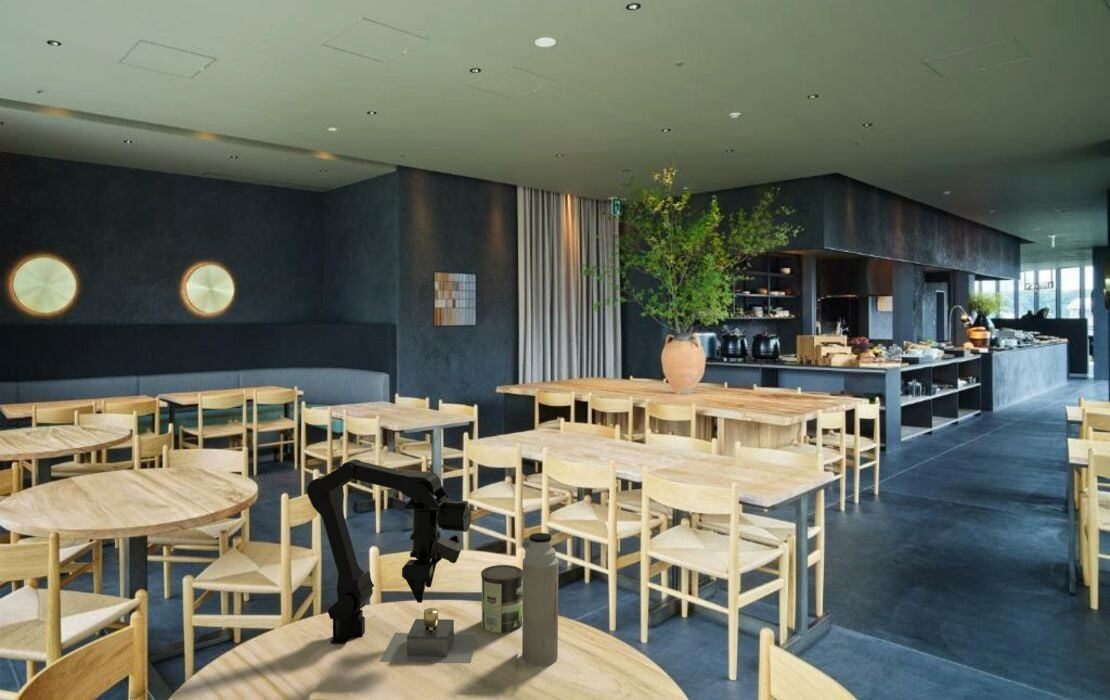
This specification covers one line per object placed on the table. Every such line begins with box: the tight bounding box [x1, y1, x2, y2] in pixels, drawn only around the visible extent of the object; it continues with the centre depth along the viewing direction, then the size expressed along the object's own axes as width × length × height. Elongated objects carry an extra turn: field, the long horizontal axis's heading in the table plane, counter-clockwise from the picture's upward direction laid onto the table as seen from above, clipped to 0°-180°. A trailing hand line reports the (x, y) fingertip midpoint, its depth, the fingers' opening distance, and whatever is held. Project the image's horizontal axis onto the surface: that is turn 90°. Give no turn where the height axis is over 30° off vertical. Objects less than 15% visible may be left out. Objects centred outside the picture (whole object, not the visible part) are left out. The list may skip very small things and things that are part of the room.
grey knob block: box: [407, 618, 455, 657], centre depth 164 cm, size 9×9×5 cm
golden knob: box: [423, 607, 439, 630], centre depth 164 cm, size 4×4×8 cm
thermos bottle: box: [521, 532, 559, 667], centre depth 161 cm, size 8×8×28 cm
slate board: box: [379, 632, 479, 664], centre depth 164 cm, size 20×14×1 cm
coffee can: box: [480, 564, 523, 634], centre depth 176 cm, size 10×10×14 cm
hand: (424, 594), depth 166 cm, fingers open, 9 cm apart
